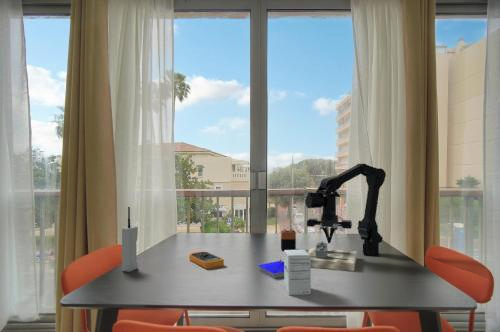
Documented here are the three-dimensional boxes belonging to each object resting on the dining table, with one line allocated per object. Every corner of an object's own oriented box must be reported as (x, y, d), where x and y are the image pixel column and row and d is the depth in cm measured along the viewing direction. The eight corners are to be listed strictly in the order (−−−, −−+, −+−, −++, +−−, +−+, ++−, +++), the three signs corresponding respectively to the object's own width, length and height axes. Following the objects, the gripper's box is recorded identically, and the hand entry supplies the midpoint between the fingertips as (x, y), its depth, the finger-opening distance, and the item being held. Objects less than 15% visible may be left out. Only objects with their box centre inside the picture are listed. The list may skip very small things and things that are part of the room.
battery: (295, 251, 165) (295, 230, 165) (281, 251, 165) (281, 230, 165) (294, 248, 170) (294, 228, 170) (280, 249, 169) (280, 228, 169)
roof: (273, 280, 124) (273, 265, 124) (257, 271, 134) (257, 257, 134) (300, 275, 129) (300, 260, 129) (283, 267, 140) (283, 253, 140)
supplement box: (283, 287, 115) (283, 249, 115) (305, 286, 116) (305, 249, 116) (288, 295, 108) (287, 255, 108) (311, 294, 109) (311, 254, 109)
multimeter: (205, 257, 155) (205, 250, 155) (225, 267, 140) (224, 258, 140) (187, 260, 151) (187, 252, 151) (206, 270, 136) (205, 262, 136)
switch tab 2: (327, 255, 144) (327, 246, 144) (325, 258, 139) (325, 249, 139) (317, 254, 145) (317, 245, 145) (315, 257, 140) (315, 248, 140)
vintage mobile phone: (138, 268, 138) (137, 205, 138) (129, 272, 133) (129, 207, 133) (130, 267, 139) (130, 205, 139) (121, 271, 134) (121, 207, 134)
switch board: (356, 258, 152) (356, 251, 152) (353, 271, 133) (353, 263, 133) (311, 254, 158) (311, 247, 158) (302, 266, 140) (302, 258, 140)
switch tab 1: (327, 250, 154) (327, 241, 154) (325, 252, 149) (325, 243, 149) (318, 249, 155) (318, 240, 155) (316, 251, 150) (316, 243, 150)
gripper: (304, 208, 146) (304, 245, 146) (350, 210, 140) (350, 248, 140) (309, 205, 157) (309, 240, 157) (351, 207, 150) (352, 243, 150)
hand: (329, 243), depth 151 cm, fingers closed
